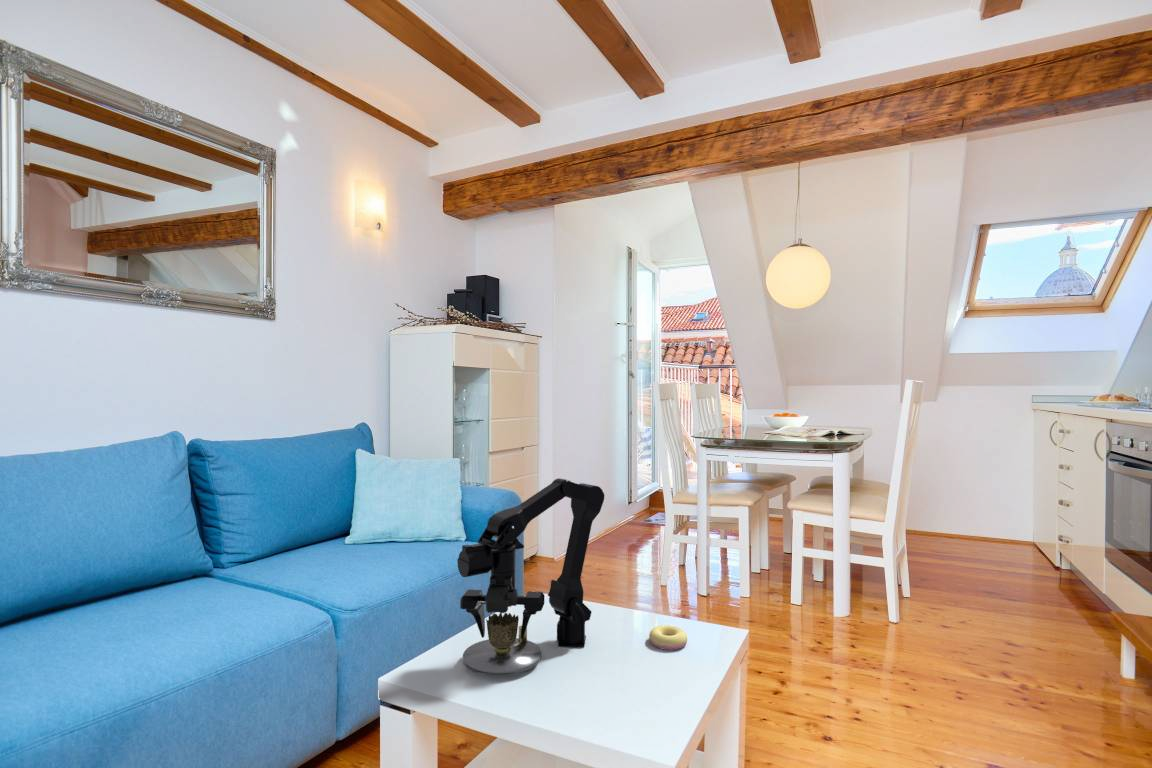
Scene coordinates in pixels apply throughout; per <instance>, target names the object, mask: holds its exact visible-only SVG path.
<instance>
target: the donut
mask: <svg viewBox="0 0 1152 768" xmlns="http://www.w3.org/2000/svg"><path fill="white" fill-rule="evenodd" d="M687 635H688V634H687V633H686V632H685V630H683V629H682V628H680V627H678V626H676V625H675V626H674V625H669V624H668V625H667V624H664V625H663V624H662V625H657V626H655V627H653V628H652V629H651V630H650V631H649V633H648V639H649V641H650V642H651V644H652V645H653V646H654V647H655V648H658V647H659V649H661V648H663V650H666V649H671V650H670V651H673V650H672V649H676V650H681V649H682V648H683V647H685V646H686V644H687V642H688V636H687Z"/></svg>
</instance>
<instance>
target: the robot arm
mask: <svg viewBox="0 0 1152 768" xmlns="http://www.w3.org/2000/svg"><path fill="white" fill-rule="evenodd" d="M564 498H569V499H570V508H571V512H572V517H573V518H572V523H571V527H570V532H569V538H568V542H567V548H566V551H565V555H564V561H563V565H562V571H561V574H560V575H559V577H558V578H557V579H556V580H555V579H551V582H550V588H549V592H548V593H547V597H548V598H549V599H548V602H549V605H550V606H551V608H553V612H554V614H555V615H557V616H559V619H558V621H557V622H556V623H557V624H556V641H557V642H558V643H557V647H568V648H569V647H570V648H584V647H585V646H586V640H587V635H586V622H587V621H590V619H591V616H592V610H591V609H590V608H589V607H588V606H587V605H586V604H585V603H584V589H583V588H584V587H583V583H582V574H583V573H582V572H583V568H584V564H585V559H586V555H587V549H588V545H589V540H590V534H591V530H592V525H593V522H594V520H595V519H596V518H597V516H598V515H599V514H600V512H601V510H602V507H603V505H604V502H605V492H604V491H603V489H602V488H601V487H600V486H598V485H594V484H588V483H582V482H579V483H577V482H573V481H571V480H569V479H565V478H561V477H560V478H555V479H554V480H553V481H552V482H551V483H550V484H548V485H547V486H545V487H544V488H542V489H541V490H539V491H538V492H536V493H535V494H534V495H531V496H530V497H529V498H527V499H526V500H524V501H523V502H521V503H520V504H518V505H517V506H514V507H511V508H506V509H503V510H501V511H498V512H496V513H494V514H492V515H491V516H490V517H489V518H488V521H487V525H486V527H485V529H484V531H483V532H482V534H481V535H480V537H479V539H478V540H477V543H475V544H463V545H461V551H460V552H459V554H458V558H457V569H458V573H459V574H460V576H461V578H467V577H469V578H470V577H473V576H474V577H475V576H479V575H484V574H488V573H490V576H489V584H488V587H487V591H486V594H484V592H483V590H482V589H467V590H466V591H465V592H464V594H462V596H461V597H460V602H459V604H460V605H459V606H460V607H459V609H461V610H465V612H466V613H469V614H471V615H472V616H473V618H474V620H475V622H476V625H477V627H478V630H479V631H478V632H479V634H480V636H481V638H483V639H484V638H485V633H486V624H485V623H486V618H485V615H486V614H485V612H486V613H488V614H491V613H499V614H500V613H502V614H505V613H508V610H509V607H510V608H512V607H515V606H519V605H520V606H523V608H524V609H523V611H522V622H521V625H522V630H521V639H523V638H524V635H525V632H526V628H527V629H528V624H529V622H530V620H531V619H530V618H531V616H532V615H536V614H537V612H541V611H542V610H543V607H544V605H545V593H544V592H543V591H533V590H531V591H530V590H529V591H527V592H526V594H525V595H519V594H518V590H517V588H516V574H517V573H516V572H517V571H516V563H517V562H516V556H517V555H516V551H517V550H520V549H525V545H524V544H522V542H520V541H519V539H518V538H519V536H521V534H522V533H523V532H525V530H526V529H527V527H528V525H529V523H531V521H532V520H534V519H535V518H537V517H538V516H540V515H541V514H542V513H543V514H544V512H546V511H547V510H549V508H552V507H553V506H555V504H557V503H558V502H560V501H561V500H563V499H564ZM493 538H494V539H496V540H494V539H493Z"/></svg>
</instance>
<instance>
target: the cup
mask: <svg viewBox="0 0 1152 768" xmlns="http://www.w3.org/2000/svg"><path fill="white" fill-rule="evenodd" d="M485 622H486V628H487V629H486V630H487V637H488V639H489V641H490V643H491V645H492V646H494V647H495V649H494V650H495V653H496V654H498V655H506V654H508V653H509V652H510V650H511V648H510V646H512V645H513V644H514V642H515V640H516V638H517V636H518V631H519V615H516V614H515V613H514V614H513V615H512V614H511V613H510V612H509V613H508V612H505V613H500V612H499V614H497V613H496V612H493V614H492V615H488V619H487V618H485Z"/></svg>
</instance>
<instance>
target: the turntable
mask: <svg viewBox="0 0 1152 768" xmlns="http://www.w3.org/2000/svg"><path fill="white" fill-rule="evenodd" d="M521 630H522V624H521V625H518V637H516V640H515V642H514V644H513V645H512V646H510V648H511V650H510V652H509V653H508V654H506V655H498V654H496V653H495V650H494V649H495V647H494V646H492V645H491V643H490V641H489V638H488V639H484V640H481V641H478V642H476V643H474V644H471V645H470V646H468V647H467V648H465V650H464V651H463V653H462V663H463V664H464V666H465V667H466V668H467V669H469V670H470V671H473V672H475V673H479V674H483V675H490V676H499V675H500V676H501V675H502V676H503V675H504V676H505V675H513V674H518V673H521V672H525V671H528V670H530V669H532V668H534V667H535V666H536V665H538V664H539V663H540V662H541V660H542V659H543V658H542V654H543V653H542V651H543V650H542V649H541V647H540V646H539V645H538V644H537V643H535V642H533V641H531V640H528V627H527V628H526V632H525V635H524V638H523V639H521Z"/></svg>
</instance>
